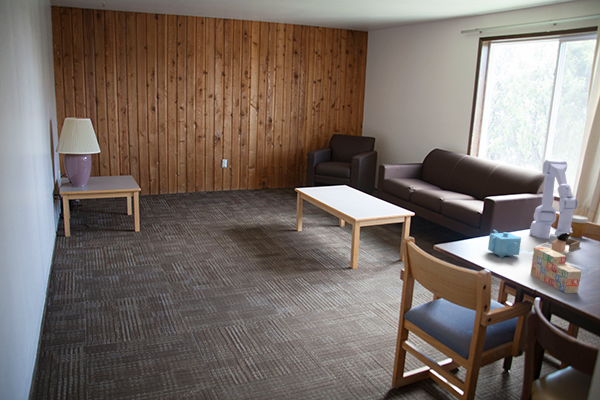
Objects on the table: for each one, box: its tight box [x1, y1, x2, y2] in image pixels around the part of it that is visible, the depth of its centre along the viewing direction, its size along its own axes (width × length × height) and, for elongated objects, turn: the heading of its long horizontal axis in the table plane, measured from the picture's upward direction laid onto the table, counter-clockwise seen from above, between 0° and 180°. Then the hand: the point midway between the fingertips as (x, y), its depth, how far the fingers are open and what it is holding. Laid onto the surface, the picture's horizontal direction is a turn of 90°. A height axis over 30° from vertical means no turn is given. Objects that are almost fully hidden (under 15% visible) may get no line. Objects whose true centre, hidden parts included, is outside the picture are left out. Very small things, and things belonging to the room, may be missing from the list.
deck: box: [534, 241, 581, 255], centre depth 243 cm, size 14×20×1 cm
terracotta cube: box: [550, 239, 566, 253], centre depth 237 cm, size 4×4×4 cm
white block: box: [548, 233, 558, 243], centre depth 250 cm, size 4×4×4 cm
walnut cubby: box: [566, 238, 581, 252], centre depth 243 cm, size 7×11×3 cm
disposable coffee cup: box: [568, 214, 589, 239], centre depth 263 cm, size 10×10×12 cm
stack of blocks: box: [530, 246, 582, 294], centre depth 198 cm, size 21×6×12 cm, turn 10°
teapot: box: [487, 229, 522, 259], centre depth 232 cm, size 16×18×11 cm
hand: (560, 247), depth 239 cm, fingers closed, pressing on terracotta cube
